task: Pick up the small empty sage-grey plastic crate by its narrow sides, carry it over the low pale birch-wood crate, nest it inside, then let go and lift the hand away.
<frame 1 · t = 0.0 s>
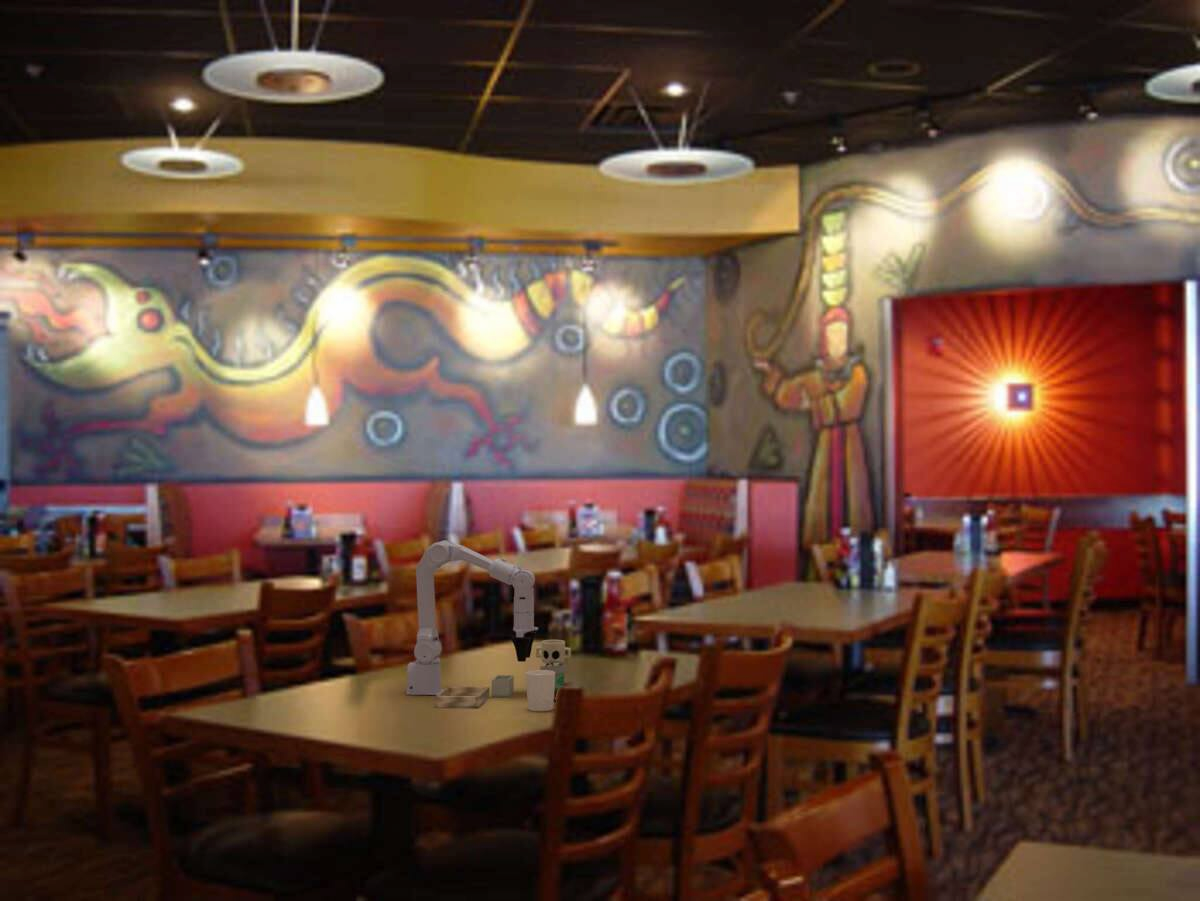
hand: (523, 659, 400), 10 cm above the table, fingers open, 7 cm apart
white cup: (540, 710, 378), on the table
big crate: (462, 702, 388), on the table
small crate: (502, 694, 400), on the table
food container: (555, 699, 393), on the table
character mug: (553, 685, 418), on the table
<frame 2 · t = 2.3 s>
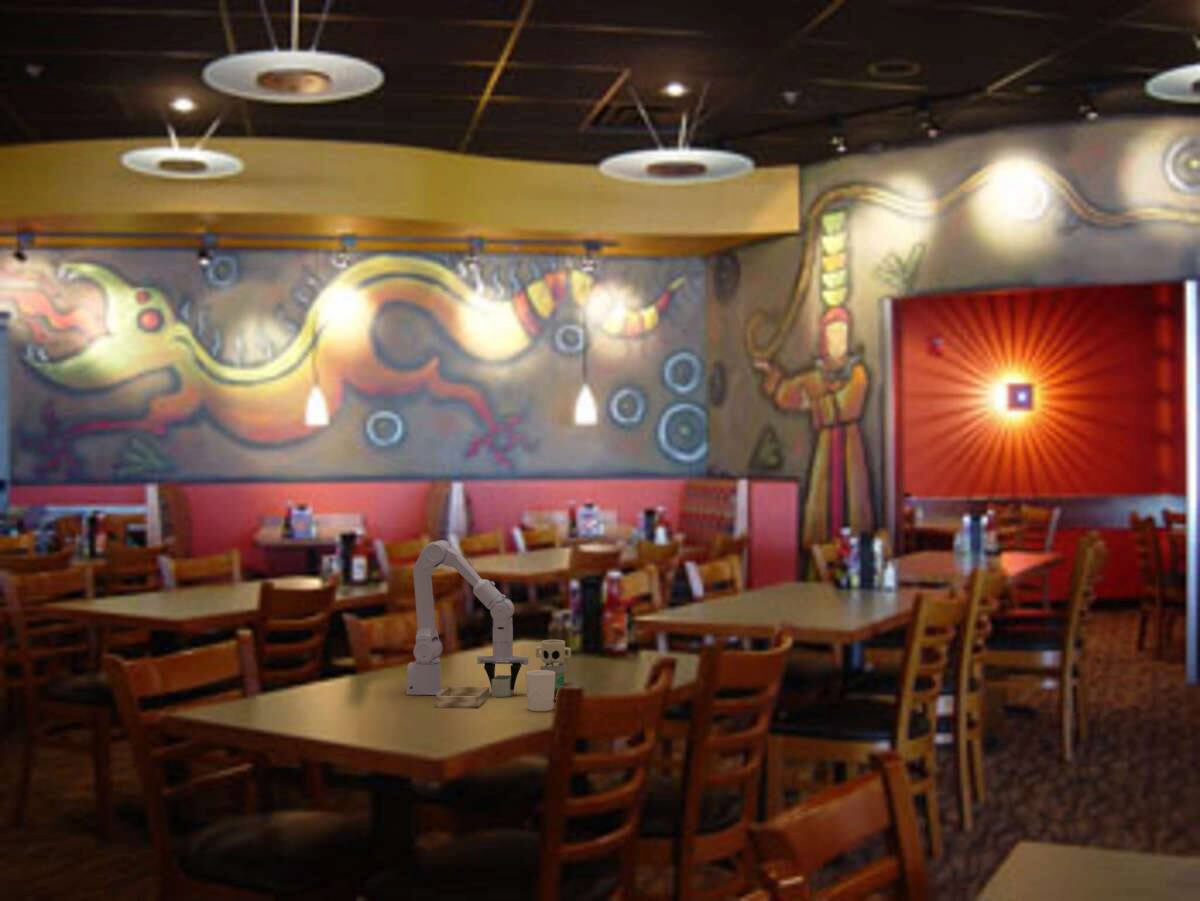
hand: (502, 689, 400), 2 cm above the table, fingers closed on small crate, 5 cm apart
small crate: (502, 694, 400), on the table, touching gripper
everything else where it was.
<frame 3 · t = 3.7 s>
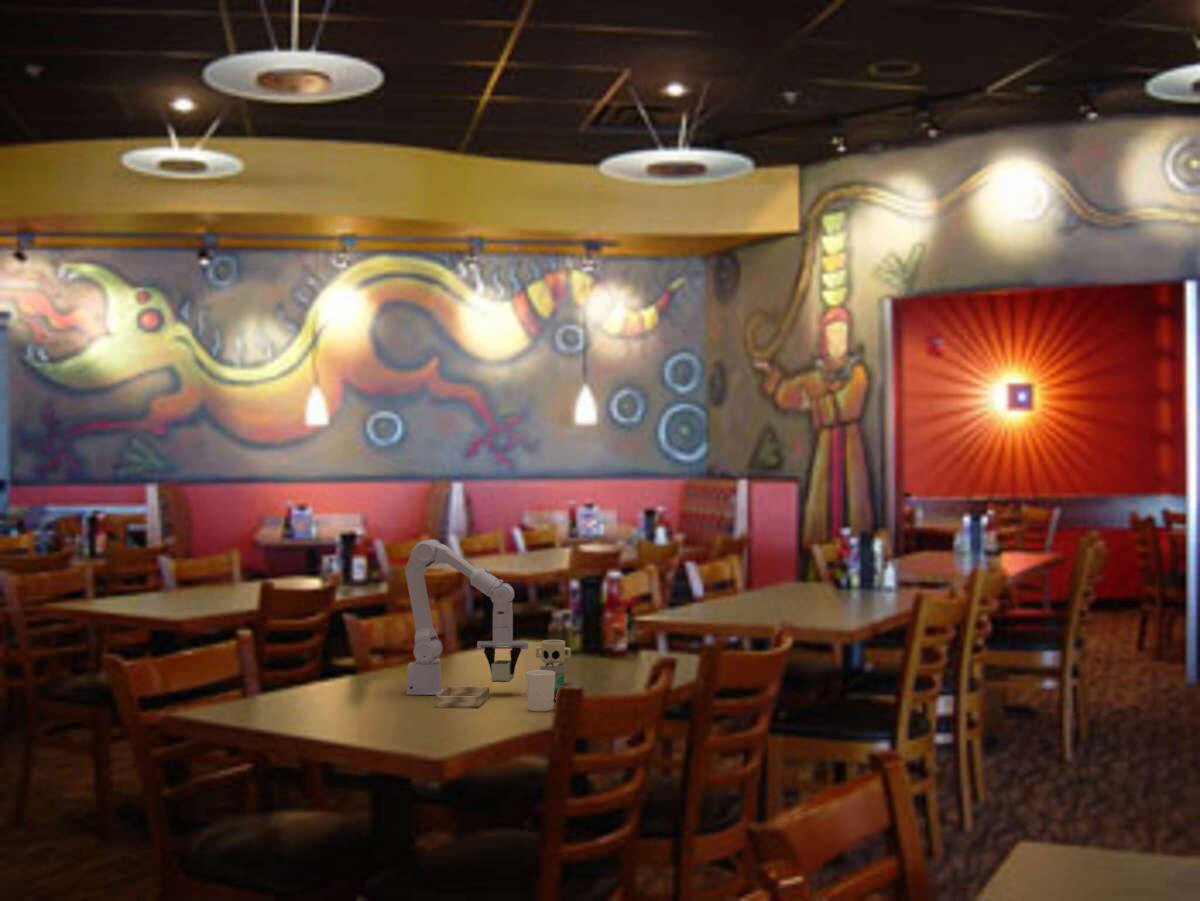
hand: (502, 674, 400), 6 cm above the table, fingers closed on small crate, 5 cm apart
small crate: (502, 679, 400), point 4 cm above the table, touching gripper
everything else where it was.
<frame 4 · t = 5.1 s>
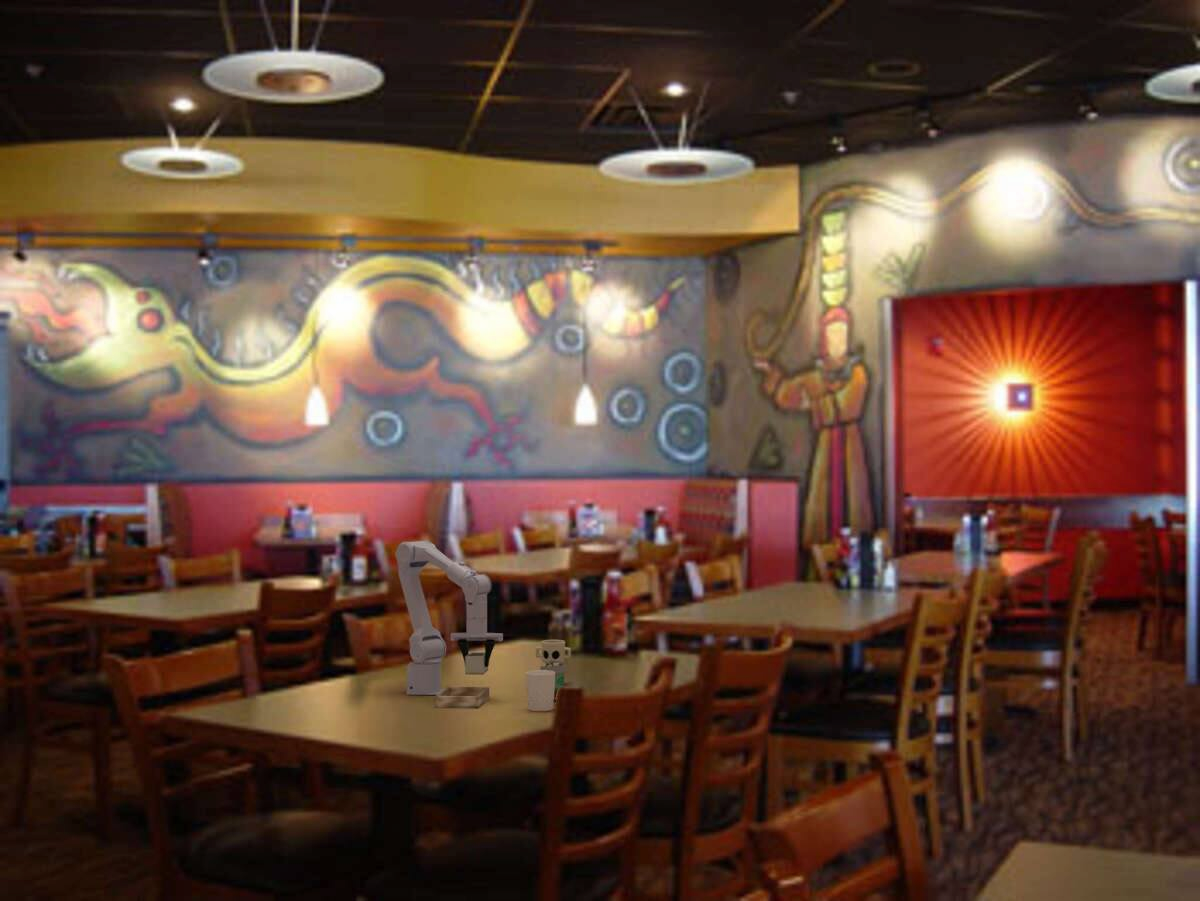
hand: (476, 666, 392), 9 cm above the table, fingers closed on small crate, 5 cm apart
small crate: (476, 672, 392), point 8 cm above the table, touching gripper
everything else where it was.
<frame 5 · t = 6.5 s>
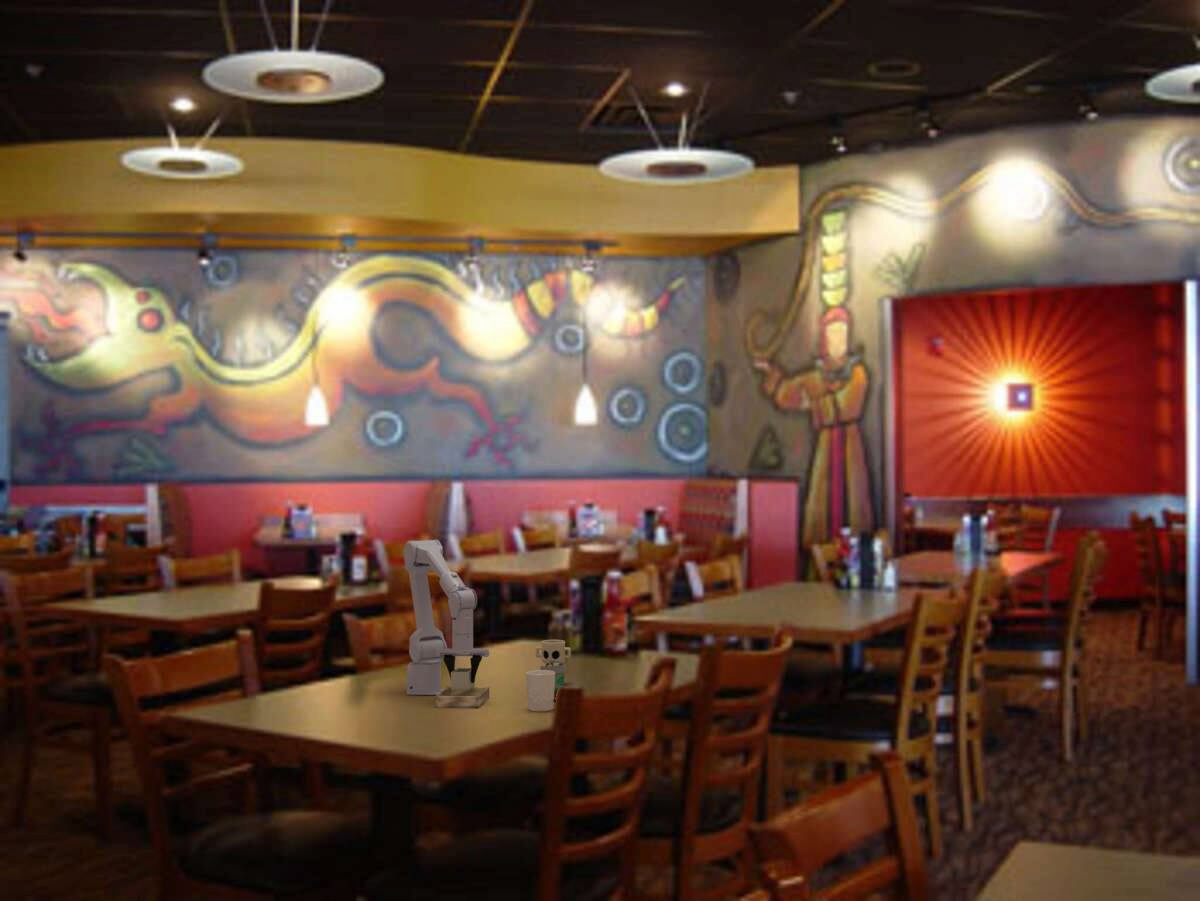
hand: (462, 682, 388), 6 cm above the table, fingers closed on small crate, 5 cm apart
small crate: (462, 688, 388), point 4 cm above the table, touching gripper
everything else where it was.
when the fingers open (3 cm above the table, at t = 8.0 s): small crate drops 1 cm, resting on big crate.
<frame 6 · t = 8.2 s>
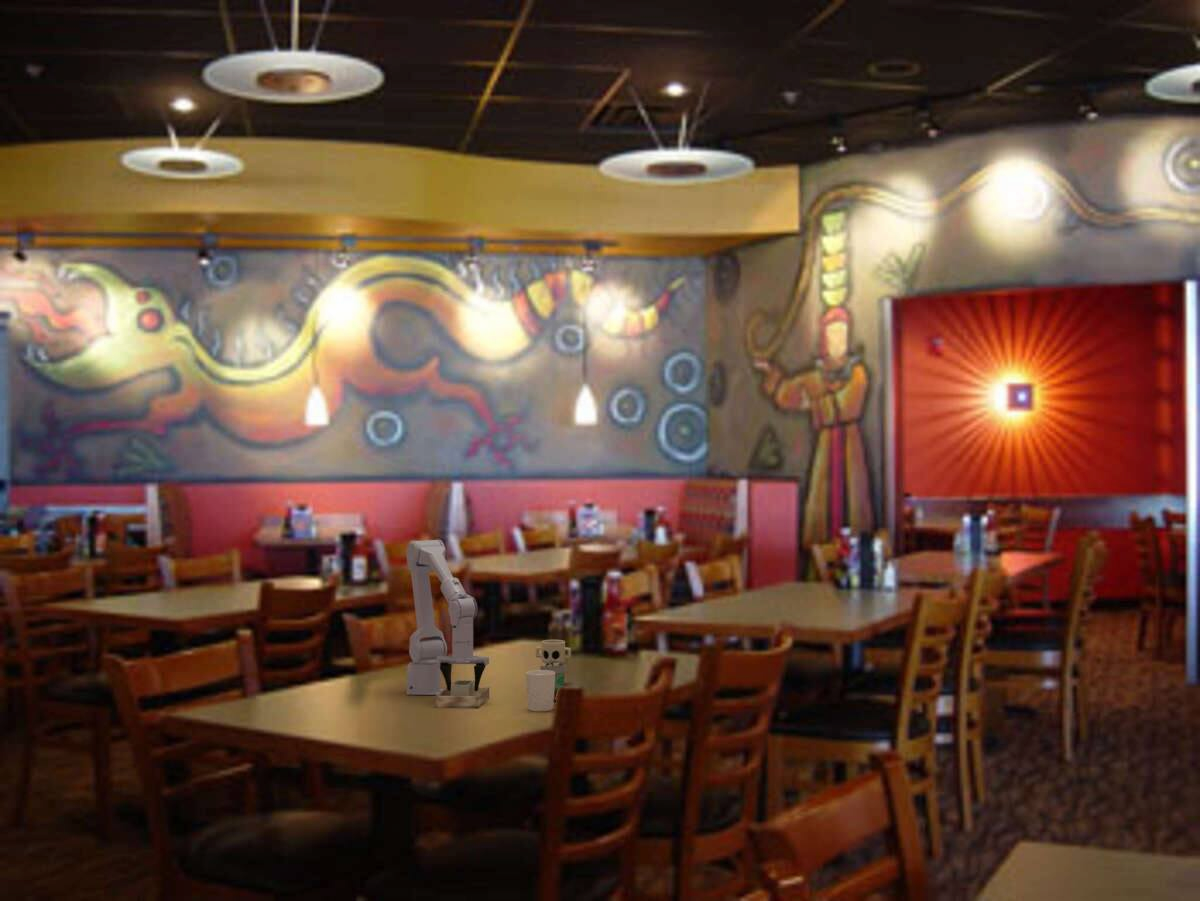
hand: (462, 690, 388), 3 cm above the table, fingers open, 7 cm apart
small crate: (462, 700, 388), resting on big crate
everything else where it was.
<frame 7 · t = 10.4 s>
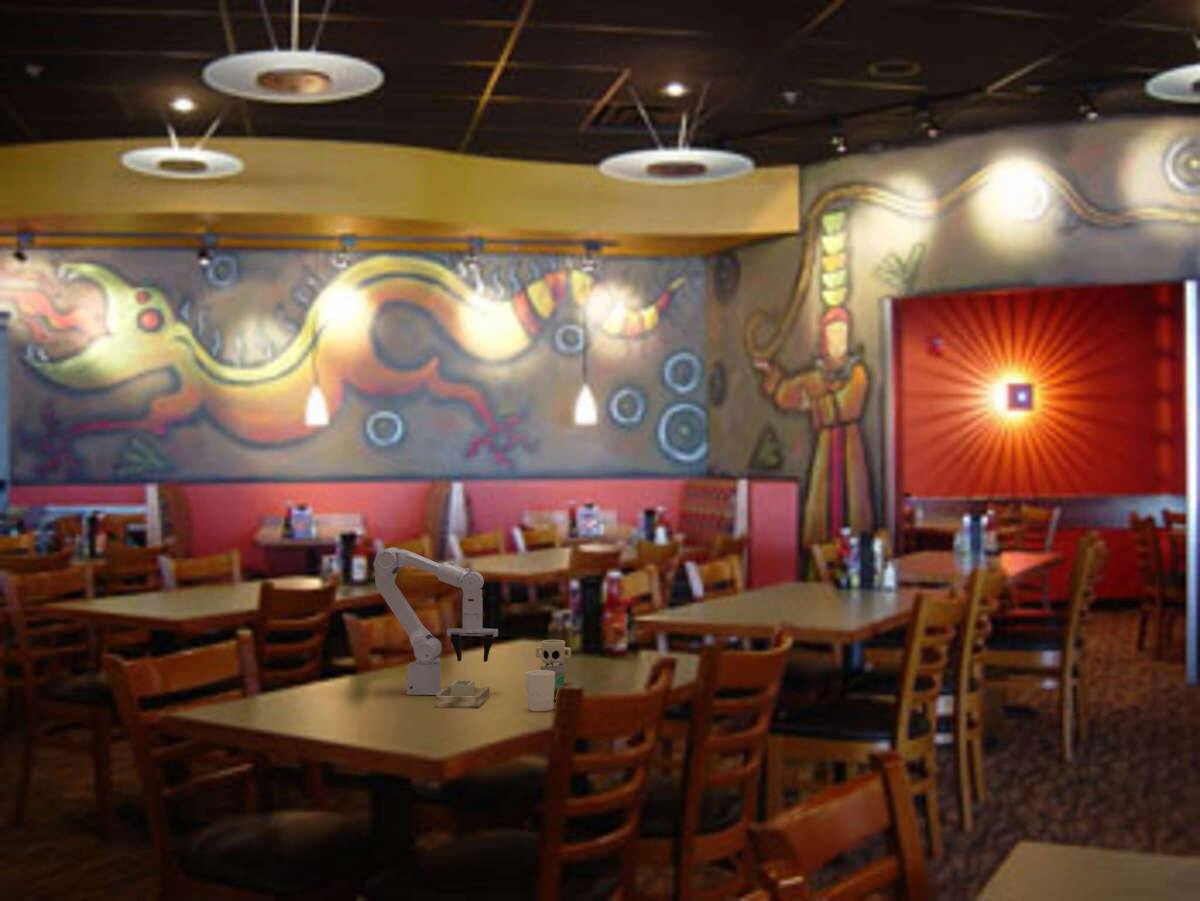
hand: (472, 661, 402), 9 cm above the table, fingers open, 7 cm apart
nothing on the table moved.
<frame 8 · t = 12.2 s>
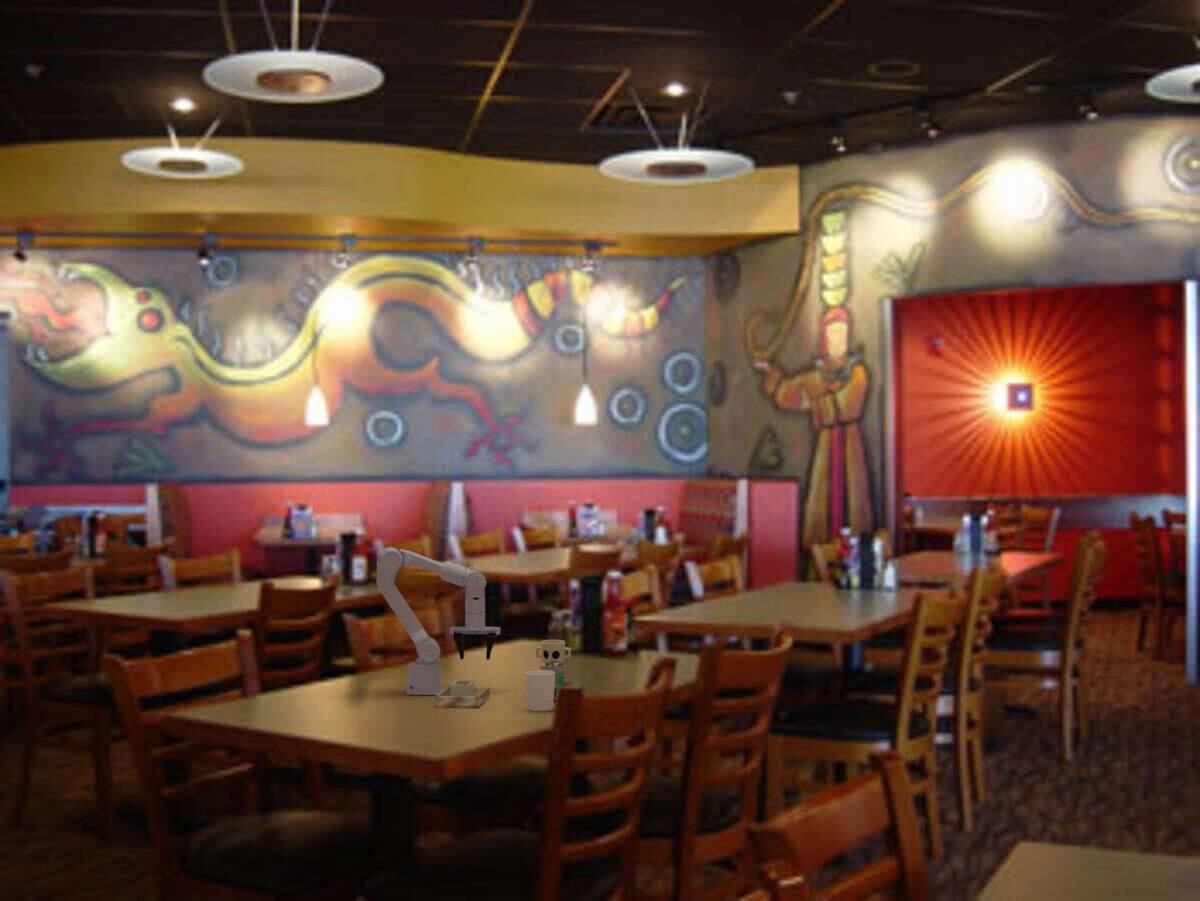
hand: (475, 659, 406), 9 cm above the table, fingers open, 7 cm apart
nothing on the table moved.
at the end: small crate 0.1 cm off-centre on the big crate, point 0.5 cm above the big crate's base; small crate tilted 0°; the gripper is holding nothing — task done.
